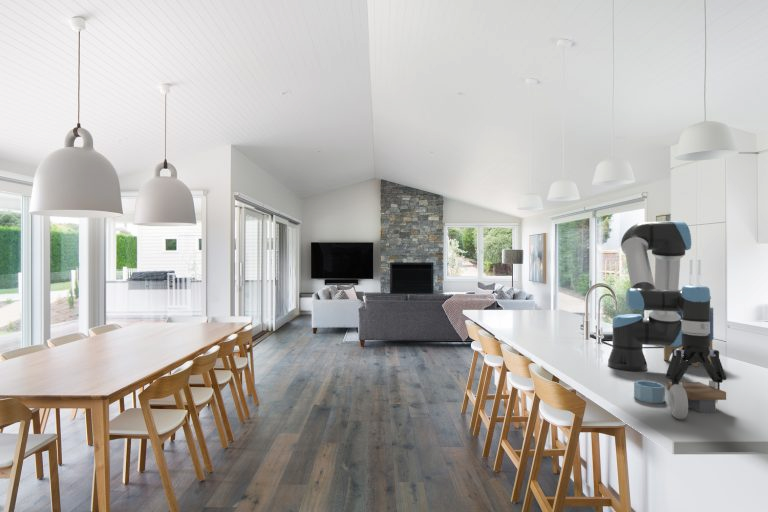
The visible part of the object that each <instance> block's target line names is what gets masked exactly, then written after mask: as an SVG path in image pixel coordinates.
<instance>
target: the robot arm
mask: <svg viewBox="0 0 768 512" xmlns="http://www.w3.org/2000/svg"><path fill="white" fill-rule="evenodd" d="M620 247H621V251H622V253H623V254H624V255H625V259H626V265H627V272H628V277H629V282H630V283H629V284H630V288H628V289H627V290H626V294H625V299H626V306H627V308H628V309H629V310H635V311H636V310H637V311H650V312H649V313H648V317H644V316H643V314H639V313H626V314H618V315H615V316H614V317H613V319H612V325H611V328H612V349H611V352H610V355H609V358H608V360H607V362H608V363H607V365H608V366H609V367H610V368H614V369H617V370H623V371H628V372H630V371H631V372H644V371H645V372H646V371H647V370H648V362H647V359H646V357H645V353H644V351H643V350H644V349H643V345H646V346H659V347H664V346H667V347H670V346H675V347H677V346H680V345H681V344H682V345H683V348H682V350H679V349H678V348H677V349H673V350H672V354H671V355H672V357H671V359H670V360H669V364H668V367H667V370H666V373H665V378H666V379H668V380H670V382H672V386H673V385H674V384H678V385H681V386H682V382H683V381H681V380H682V378H683V376H684V375H685V374H686V372H687V370H688V369H689V367H690V366H693V364H692V363H699V364H701V365H702V367H703V369H705V372H706V373H707V374H708V376H709V377H710V379H709V380H708V386H711V387H714V388H716V389H719V390H721V389H720V385H721V384H722V383H723V381H726V380H727V376H726V373H725V369H724V367H723V365H722V361H721V359H720V350H717V349H713V348H712V349H710V350H709V347H710V336H709V335H708V334H709V333H710V306H711V299H712V297H711V290H710V287H708V286H703V285H683V286H682V287H681V289H679V287H680V286H679V284H680V269H681V258H684V256H686V251H688V250H689V251H690V250H691V248H692V236H691V231H690V228H689V225H688V224H687V223H686V222H685V221H676V220H674V221H673V220H671V221H670V220H669V221H643V222H642V221H641V222H638V223H635V224H634V225H632V226H631V227H629V228H628V229H627V230H626V231H625V232H624V234H623V236H622V238H621V240H620ZM650 250H651V254H652V256H654V257H655V267H654V268H655V270H654V278H653V272H652V270H651V269H652V267H651V264H650V260H649V255H648V251H650ZM677 312H682V320H681V316H680V315H679V314H678V313H677ZM682 354H683V355H682ZM708 355H709V356H710V359H711V362H712V364H710V363H711V362H710V361H709V359H708ZM681 356H683V358H681ZM720 383H721V384H720ZM718 402H719V400H715V404H718Z"/></svg>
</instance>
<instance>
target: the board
mask: <svg viewBox="0 0 768 512" xmlns="http://www.w3.org/2000/svg"><path fill="white" fill-rule="evenodd" d="M666 382H667V383H666V386H667V389H666V390H668V391H670V388H671V386H672V381H666ZM681 382H682V387H683V388H684V389H685V391H686V394H687V398H688V399H691V400H718V401H726V400H727V391H724V390H721V389H720V390H719V389H716V388H714V387H711V386H709V384H705V383H703V382H700V381H681Z"/></svg>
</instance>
